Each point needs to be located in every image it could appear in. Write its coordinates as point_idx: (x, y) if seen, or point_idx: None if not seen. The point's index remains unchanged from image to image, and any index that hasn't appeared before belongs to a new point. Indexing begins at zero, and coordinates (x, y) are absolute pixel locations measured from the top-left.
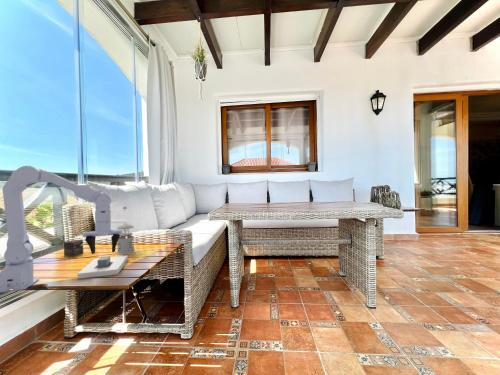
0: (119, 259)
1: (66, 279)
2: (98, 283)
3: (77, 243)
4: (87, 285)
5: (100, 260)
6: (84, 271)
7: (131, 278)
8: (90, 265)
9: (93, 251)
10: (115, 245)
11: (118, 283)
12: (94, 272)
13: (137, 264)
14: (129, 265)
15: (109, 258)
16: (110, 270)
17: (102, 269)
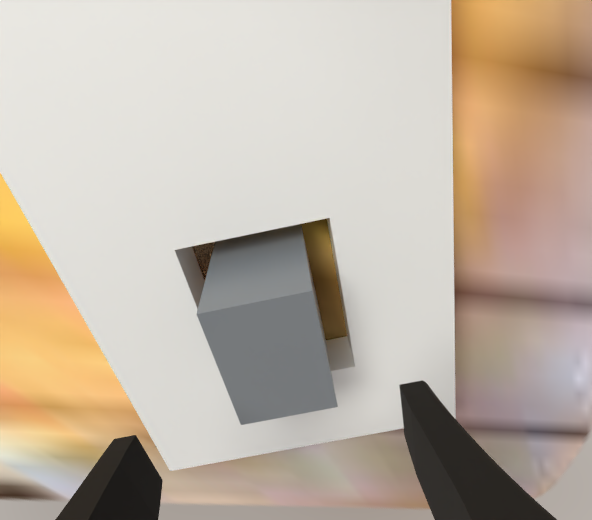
0: (373, 124)
1: (99, 438)
2: (368, 489)
3: None
4: (317, 504)
5: (271, 416)
6: (192, 439)
7: (549, 446)
8: (121, 313)
9: (153, 517)
10: (474, 464)
11: None
12: (285, 444)
13: (580, 168)
14: (495, 191)
15: (316, 307)
16: (401, 426)
17: (325, 413)
